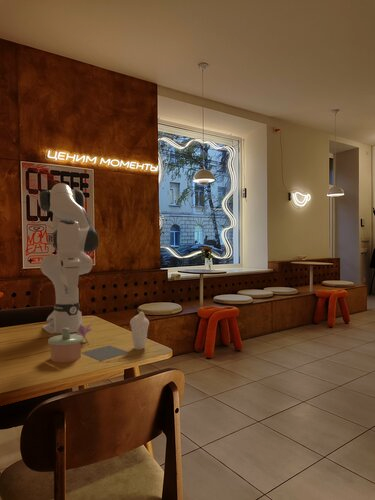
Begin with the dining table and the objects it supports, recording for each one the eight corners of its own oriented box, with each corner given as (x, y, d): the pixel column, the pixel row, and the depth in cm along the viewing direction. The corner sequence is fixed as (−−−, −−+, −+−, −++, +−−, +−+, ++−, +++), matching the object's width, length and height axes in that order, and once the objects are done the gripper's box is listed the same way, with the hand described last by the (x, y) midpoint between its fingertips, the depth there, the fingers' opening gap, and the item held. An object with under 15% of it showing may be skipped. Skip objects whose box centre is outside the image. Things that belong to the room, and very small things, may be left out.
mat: (80, 353, 146) (80, 352, 146) (109, 346, 156) (109, 345, 156) (100, 361, 136) (100, 360, 136) (129, 353, 146) (129, 352, 146)
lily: (96, 341, 166) (87, 323, 167) (103, 337, 156) (93, 318, 158) (72, 354, 159) (62, 335, 160) (77, 351, 150) (67, 330, 151)
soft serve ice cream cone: (130, 352, 148) (130, 313, 147) (128, 346, 156) (128, 310, 155) (150, 350, 150) (150, 312, 150) (147, 344, 158) (147, 309, 158)
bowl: (45, 358, 139) (45, 340, 139) (71, 352, 148) (71, 335, 147) (59, 365, 132) (59, 346, 132) (86, 358, 140) (86, 340, 140)
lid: (42, 340, 139) (42, 328, 139) (72, 334, 149) (72, 322, 149) (58, 347, 130) (58, 334, 130) (89, 340, 140) (89, 328, 140)
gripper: (56, 259, 148) (57, 292, 149) (64, 263, 130) (64, 300, 131) (72, 258, 151) (72, 291, 152) (81, 262, 133) (81, 299, 133)
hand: (68, 295), depth 141 cm, fingers open, 8 cm apart
